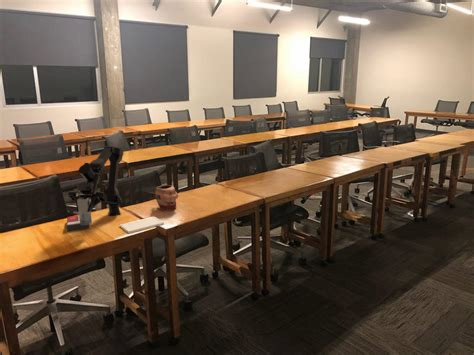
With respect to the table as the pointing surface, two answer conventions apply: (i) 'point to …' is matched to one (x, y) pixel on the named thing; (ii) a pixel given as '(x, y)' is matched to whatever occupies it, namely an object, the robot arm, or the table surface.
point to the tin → (84, 211)
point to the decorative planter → (166, 197)
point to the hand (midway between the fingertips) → (83, 211)
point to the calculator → (75, 224)
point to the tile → (141, 224)
